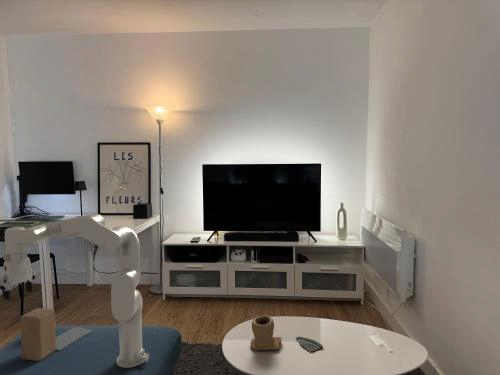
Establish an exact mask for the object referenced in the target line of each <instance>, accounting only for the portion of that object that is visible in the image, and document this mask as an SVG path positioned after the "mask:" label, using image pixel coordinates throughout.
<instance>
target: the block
mask: <svg viewBox="0 0 500 375" xmlns="http://www.w3.org/2000/svg"><path fill="white" fill-rule="evenodd" d="M55 315H56V314H55V309H51V308H42V307H41V308H40V307H38V308H37V307H36V308H35V309H33V310H30V311H29V312H27V313H25V314H23V315H20V317H19V325H20V329H19V330H20V346H21V348H20V349H21V359H22V360H26V361H27V360H28V361H34V362H35V361H36V362H41V361H42V360H44V359H45V358H47V357H48V356H50V355H51V354H52V353H54V352H55V351H57V350H56V337H57V336H56V327H55V325H56V319H55V318H56V317H55Z"/></svg>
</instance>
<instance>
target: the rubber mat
mask: <svg viewBox="0 0 500 375" xmlns="http://www.w3.org/2000/svg"><path fill="white" fill-rule="evenodd" d="M90 332H91V333H92V332H94V329H89V328H84V327H79V326H75V327H72V328H71V329H68V330H67V331H65V332H63V333H61V334H59V335H57V336H56V350H55V351H57V350H58V352H60V350H61V351H62V350H64V349H66V348H67V347H69V346H70V345H69V344H71V343H72V344H74V343H75V342H74V341H76V340H77V339H79V338H81V337H82V338H84V337H85V336H84V335H86V334H87V335H89V334H91V333H90ZM88 333H89V334H88ZM87 335H86V336H87ZM83 336H84V337H83ZM82 338H81V339H82ZM79 340H80V339H79ZM77 341H78V340H77ZM77 341H76V342H77ZM73 342H74V343H73ZM72 344H71V345H72ZM68 345H69V346H68ZM65 347H66V348H65ZM63 348H64V349H63Z"/></svg>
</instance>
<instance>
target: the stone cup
mask: <svg viewBox="0 0 500 375" xmlns="http://www.w3.org/2000/svg"><path fill="white" fill-rule="evenodd" d="M251 330H252V334H253V335H254V336H253V338H252V339H251V340H250V348H251V349H252V350H255V351H256V350H257V351H268V350H279V349H280V347H281V344H282V338H283V337H282V336H273V335H274V330H275V321H274V319H273V318H272V317H271V316H270V315H267V314H263V315H257V316H256V317H254V318H253V319H252V321H251Z"/></svg>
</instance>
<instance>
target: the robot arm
mask: <svg viewBox="0 0 500 375" xmlns="http://www.w3.org/2000/svg"><path fill="white" fill-rule="evenodd" d="M79 237H82V238H83V239H85V240H87V241H89V242H90V243H92V244H93V245H95V246H97V247H99V248H100V249H103V250H104V251H105V250H106V251H107V252H113V251H117V250H118V249H120V253H119V270H118V272H117V273H116V275H115V276H114V277H113V279H112V281H111V286H110V287H111V288H110V301H111V302H110V310H111V314H112V317H113V318H114V319H115V320H116V321H118V334H119V335H118V338H119V339H118V340H119V355H118V356H117V358H116V360H115V361H116V363H115V364H116V365H117V366H118V367H119V368H123V369H129V368H130V369H131V368H135V367H137V366H139V365H141V364H143V363H144V362H148V361H149V356H150V353H146V352H145V348H143V318H142V317H143V315H142V314H143V295H142V294H141V292H140V291H139V290H138V289H136V287H137V286H138V285H139V283H140V281H141V243H140V239H139V237H138V235H137V234H136V232H135V231H134V230H133V229H132V228H129V227H127V226H123V225H118V226H115V227H113V228H109V227H108V226H106V219H105V218H104V217H103V215H101V214H98V213H91V214H85V215H81V216H75V217H71V218H66V219H62V220H57V221H53V222H47V223H42V224H39V225H35V226H30V227H27V228H25V227H23V226H13V227H8V228H6V229H5V230H4V244H5V245H4V247H5V255H4V256H3V257H2V259H3V260H4V261H3V262H4V263H3V267H2V268H3V269H2V276H1V277H0V291H2V298H3V300H6V301H10V299H11V295H10V294H11V293H10V287H11V286H15V285H19V284H22V283H25V292H29V293H32V292H33V283H34V280H35V279H36V276H37V274H38V270H35V269H32V262H31V259H30V257H29V256H28V247H32V246H36V245H38V244H41V243H43V242H45V241H49V240H54V239H55V240H56V239H59V238H65V239H67V240H69V239H74V238H79Z"/></svg>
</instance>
